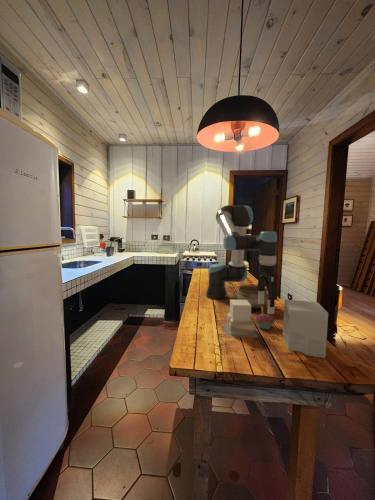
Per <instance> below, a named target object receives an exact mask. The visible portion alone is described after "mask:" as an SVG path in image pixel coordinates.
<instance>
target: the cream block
mask: <svg viewBox="0 0 375 500" xmlns="http://www.w3.org/2000/svg"><path fill="white" fill-rule="evenodd" d="M229 313H230V316H231V318H232V320H233V321H251V319H252V310H251V304H250V303H249V302H248V301H247V300H237V299H229Z"/></svg>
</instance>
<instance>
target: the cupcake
mask: <svg viewBox="0 0 375 500" xmlns="http://www.w3.org/2000/svg"><path fill="white" fill-rule="evenodd" d="M260 309H261V313H260V314H257V315H256V316H255V322H256V323H257V325H258V327H259V328H260V329H263V330H270V329H271V327H272V326H273V325H274V324H275V319H274V317H273V316H271V314H268V313H264V306H261V308H260Z"/></svg>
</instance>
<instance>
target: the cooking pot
mask: <svg viewBox="0 0 375 500" xmlns="http://www.w3.org/2000/svg"><path fill="white" fill-rule="evenodd" d="M264 289H265V291H264V304H258V293H259V291H258V289H257V285H255V284H241V285H238V286H237V292H236V293H234V292H231V295H232V296H234V297H235V298H236V300H247V301H248V302H249V303H250V304H251V311H253V310H258V309H262V308H261V306H263V307H265V306H266V305H268V298H269V296H268V291H267V287H265V288H264Z"/></svg>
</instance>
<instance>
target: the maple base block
mask: <svg viewBox="0 0 375 500" xmlns="http://www.w3.org/2000/svg"><path fill="white" fill-rule="evenodd" d="M226 323H227V326H228V329H229V332H230V334H231V335H253V329H254V326H255V323H254V320H253V319H252V318H251V321H233V320H232V318H231V316H230V312H227V313H226ZM254 330H255V329H254Z"/></svg>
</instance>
